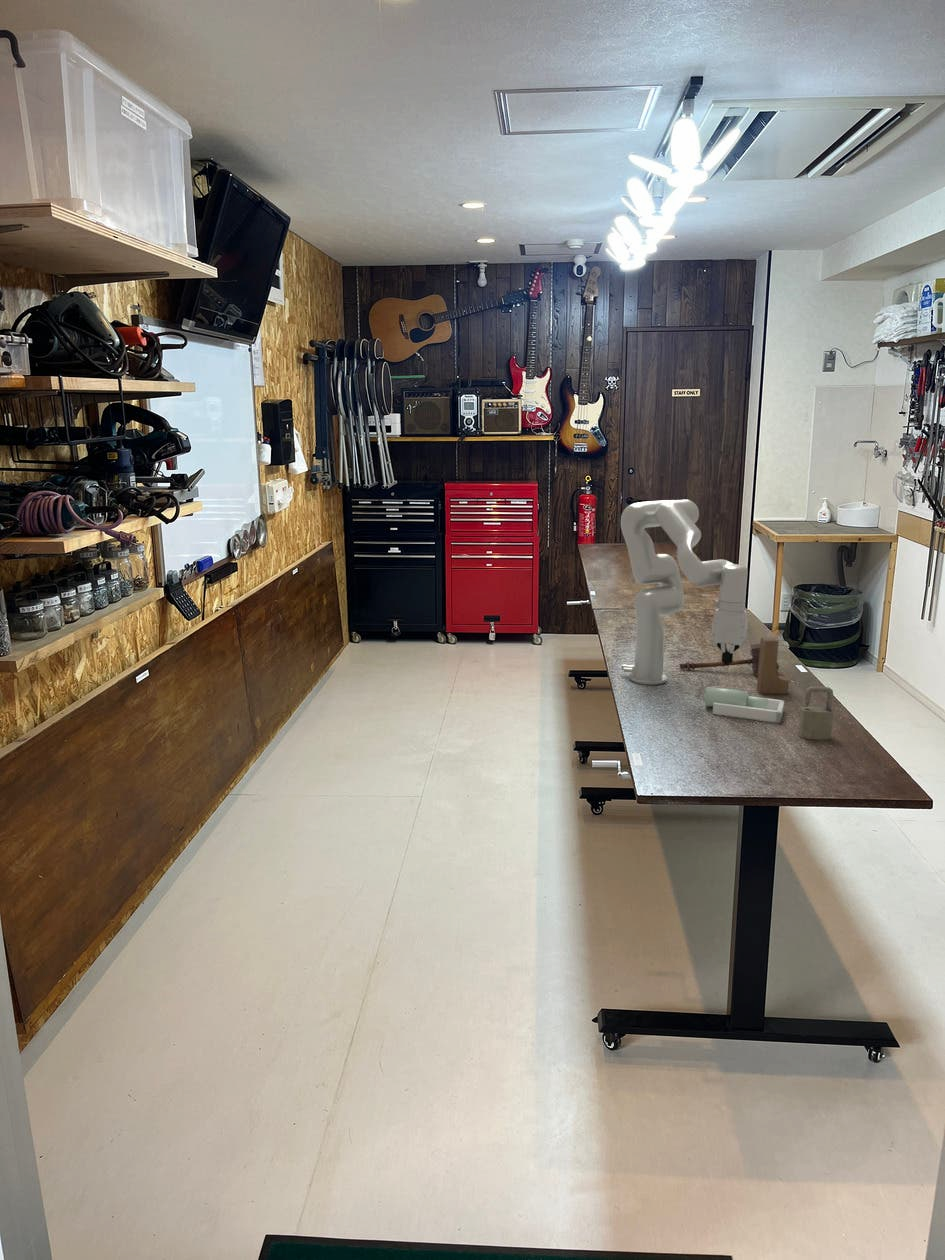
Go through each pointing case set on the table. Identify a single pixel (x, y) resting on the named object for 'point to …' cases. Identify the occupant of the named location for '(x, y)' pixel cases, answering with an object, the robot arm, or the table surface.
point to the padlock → (816, 716)
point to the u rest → (752, 711)
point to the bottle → (733, 698)
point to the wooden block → (770, 669)
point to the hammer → (755, 661)
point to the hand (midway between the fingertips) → (726, 664)
